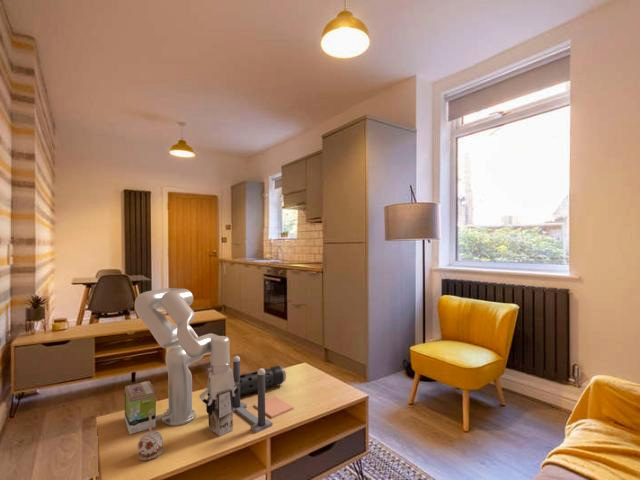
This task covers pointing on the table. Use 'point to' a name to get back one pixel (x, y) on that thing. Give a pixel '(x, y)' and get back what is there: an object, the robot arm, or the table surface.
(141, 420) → the tea box
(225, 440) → the table surface
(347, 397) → the table surface
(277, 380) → the muzzle brake
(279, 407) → the terracotta tile
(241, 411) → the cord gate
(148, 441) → the decorative ornament
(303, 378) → the table surface
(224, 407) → the coffee box
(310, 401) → the table surface
